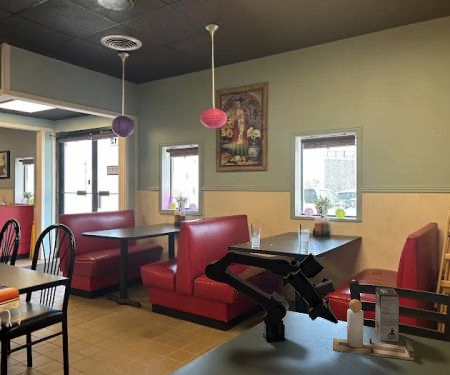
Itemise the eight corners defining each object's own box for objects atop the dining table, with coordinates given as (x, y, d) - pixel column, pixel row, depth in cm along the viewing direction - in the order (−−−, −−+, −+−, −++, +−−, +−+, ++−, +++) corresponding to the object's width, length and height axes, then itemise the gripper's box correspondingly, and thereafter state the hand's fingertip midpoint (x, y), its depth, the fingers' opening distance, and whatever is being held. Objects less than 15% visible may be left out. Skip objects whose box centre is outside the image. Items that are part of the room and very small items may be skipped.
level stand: (332, 350, 125) (332, 342, 125) (333, 339, 133) (333, 331, 133) (414, 360, 118) (414, 351, 118) (409, 348, 126) (409, 340, 126)
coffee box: (374, 330, 142) (375, 286, 141) (393, 331, 140) (393, 287, 140) (379, 340, 133) (379, 294, 132) (399, 342, 131) (399, 295, 131)
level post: (347, 346, 125) (347, 301, 125) (347, 340, 130) (347, 296, 130) (363, 348, 124) (363, 302, 124) (362, 341, 129) (363, 297, 128)
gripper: (319, 278, 121) (356, 317, 118) (322, 265, 139) (354, 298, 136) (294, 301, 123) (329, 339, 120) (300, 285, 141) (331, 318, 138)
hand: (337, 322), depth 129 cm, fingers closed
